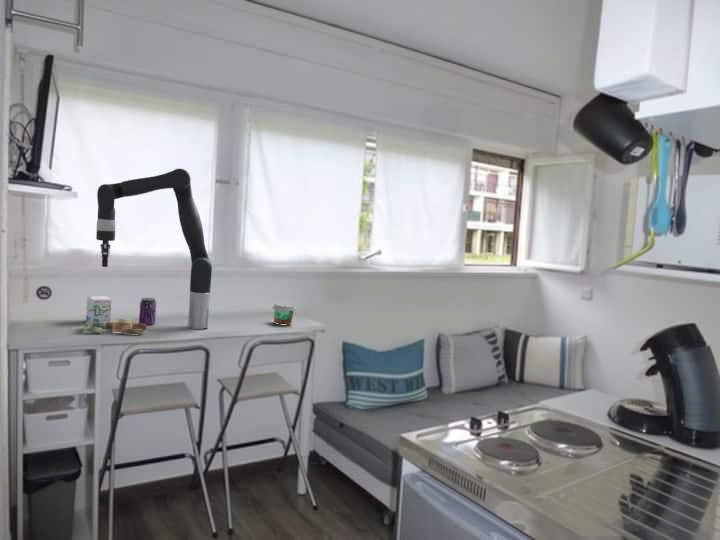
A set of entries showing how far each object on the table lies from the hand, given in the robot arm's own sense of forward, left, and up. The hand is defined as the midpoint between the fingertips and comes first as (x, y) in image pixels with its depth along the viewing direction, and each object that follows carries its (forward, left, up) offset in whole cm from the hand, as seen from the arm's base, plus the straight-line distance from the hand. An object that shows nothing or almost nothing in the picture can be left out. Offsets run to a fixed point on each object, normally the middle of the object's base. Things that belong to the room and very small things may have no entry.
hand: (104, 265), depth 236 cm
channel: (-8, +12, -27) cm, 31 cm away
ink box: (+3, -5, -27) cm, 28 cm away
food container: (-82, -16, -27) cm, 88 cm away
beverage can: (-18, -5, -27) cm, 33 cm away
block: (-10, +12, -27) cm, 32 cm away
